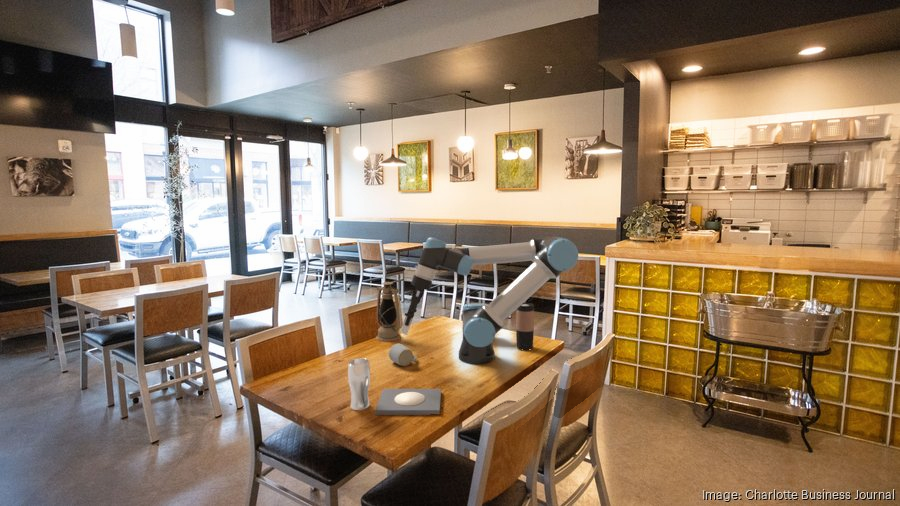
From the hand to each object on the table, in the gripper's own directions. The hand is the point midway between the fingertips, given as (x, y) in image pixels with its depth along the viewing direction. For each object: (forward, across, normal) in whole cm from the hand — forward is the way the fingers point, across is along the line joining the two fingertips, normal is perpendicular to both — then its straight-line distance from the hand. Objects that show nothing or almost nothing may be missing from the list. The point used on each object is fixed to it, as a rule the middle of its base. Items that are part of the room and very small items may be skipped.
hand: (404, 330), depth 176 cm
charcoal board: (+17, +24, +10) cm, 31 cm away
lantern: (+15, -47, -6) cm, 50 cm away
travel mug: (-4, -28, +53) cm, 60 cm away
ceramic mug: (+16, -13, +5) cm, 21 cm away
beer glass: (+23, +26, -5) cm, 35 cm away
